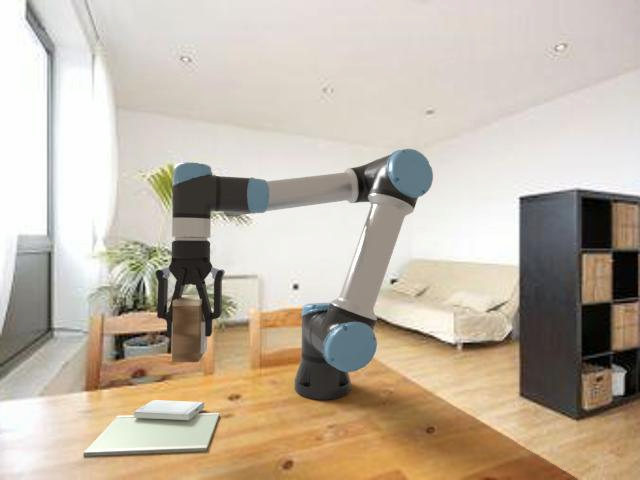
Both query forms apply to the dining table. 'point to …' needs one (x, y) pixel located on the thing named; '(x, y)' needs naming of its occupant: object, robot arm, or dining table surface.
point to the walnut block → (187, 329)
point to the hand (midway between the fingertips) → (189, 351)
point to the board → (154, 435)
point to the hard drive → (169, 410)
